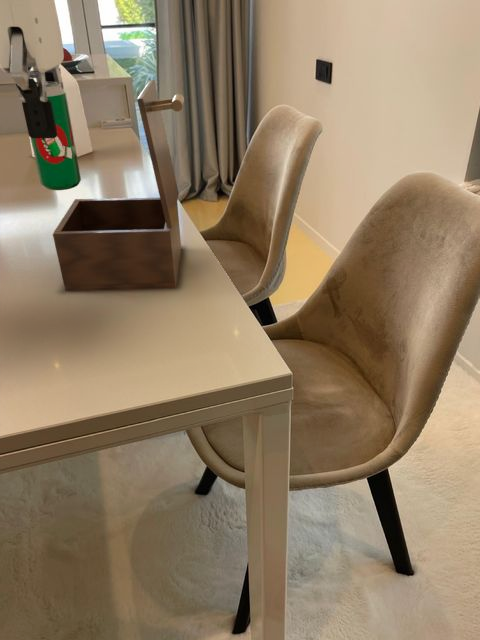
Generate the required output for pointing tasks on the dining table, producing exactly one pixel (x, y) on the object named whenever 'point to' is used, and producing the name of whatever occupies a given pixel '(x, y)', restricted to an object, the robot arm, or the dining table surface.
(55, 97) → the soda can
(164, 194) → the lid
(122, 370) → the dining table surface
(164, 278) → the brown wooden box
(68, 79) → the milk
